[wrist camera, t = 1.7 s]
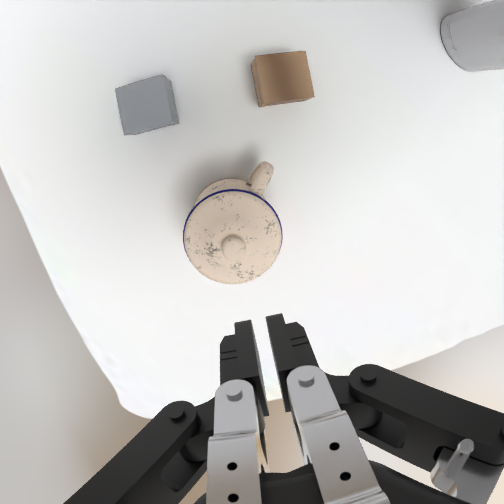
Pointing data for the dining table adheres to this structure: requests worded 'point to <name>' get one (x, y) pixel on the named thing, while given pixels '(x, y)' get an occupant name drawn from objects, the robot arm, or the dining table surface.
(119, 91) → the slate-grey block
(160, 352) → the dining table surface
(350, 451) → the robot arm
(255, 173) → the teacup with lid
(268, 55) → the walnut block
